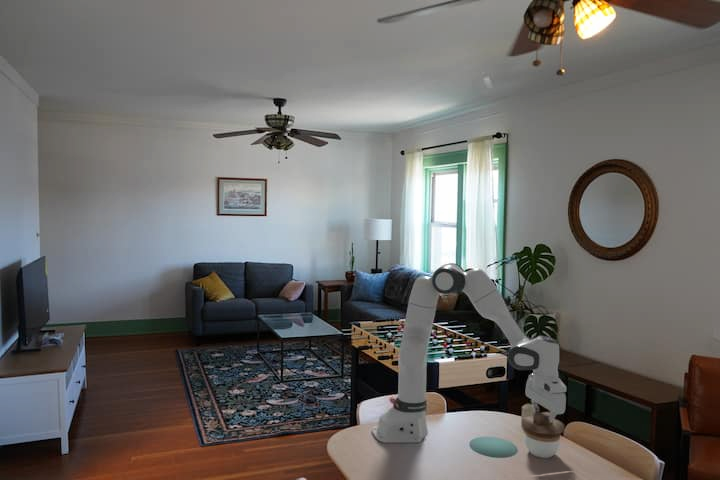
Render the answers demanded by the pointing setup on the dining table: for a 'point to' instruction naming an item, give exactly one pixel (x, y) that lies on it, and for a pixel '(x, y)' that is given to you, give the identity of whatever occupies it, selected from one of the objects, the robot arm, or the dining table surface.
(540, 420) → the lid
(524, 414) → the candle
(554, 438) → the lidded bowl
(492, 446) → the mat
